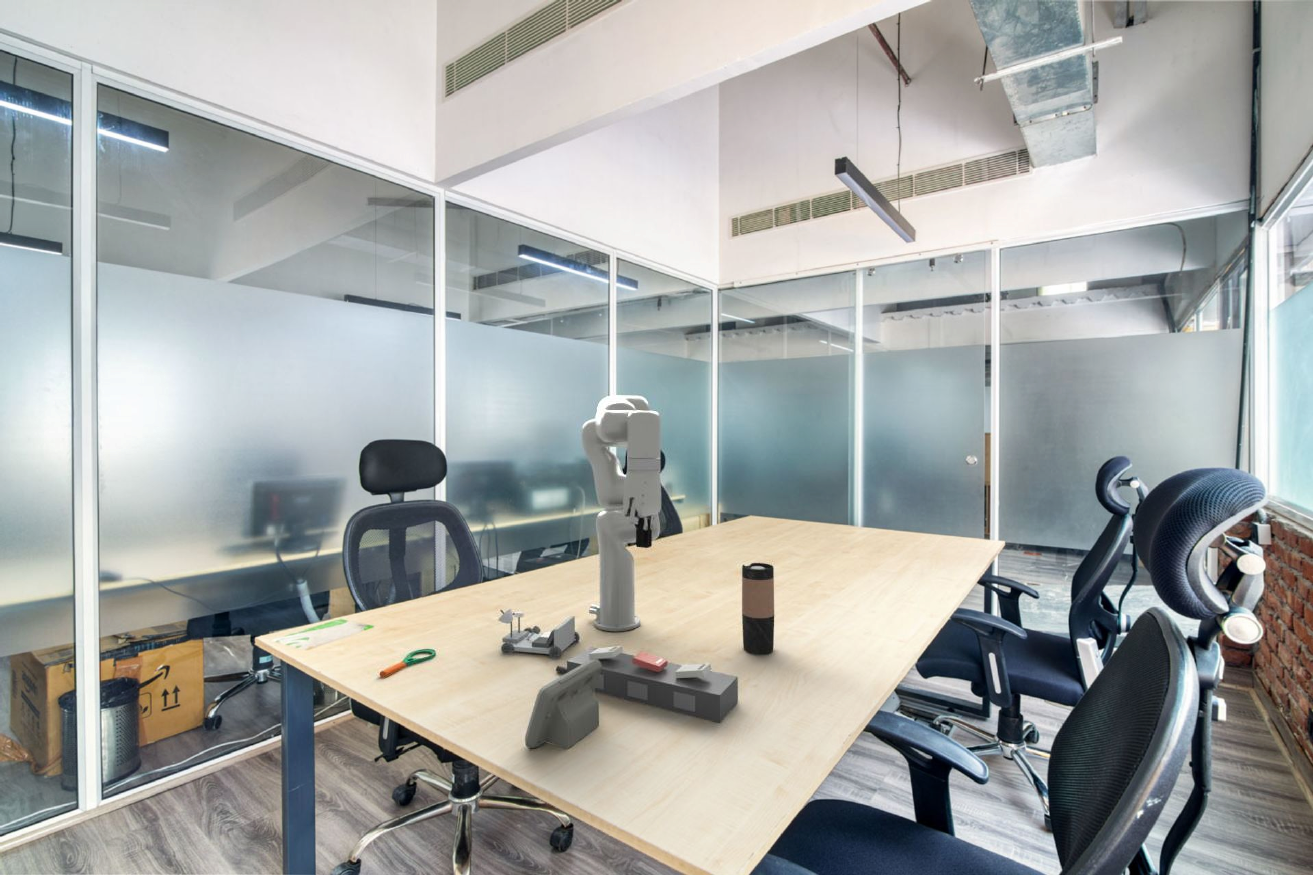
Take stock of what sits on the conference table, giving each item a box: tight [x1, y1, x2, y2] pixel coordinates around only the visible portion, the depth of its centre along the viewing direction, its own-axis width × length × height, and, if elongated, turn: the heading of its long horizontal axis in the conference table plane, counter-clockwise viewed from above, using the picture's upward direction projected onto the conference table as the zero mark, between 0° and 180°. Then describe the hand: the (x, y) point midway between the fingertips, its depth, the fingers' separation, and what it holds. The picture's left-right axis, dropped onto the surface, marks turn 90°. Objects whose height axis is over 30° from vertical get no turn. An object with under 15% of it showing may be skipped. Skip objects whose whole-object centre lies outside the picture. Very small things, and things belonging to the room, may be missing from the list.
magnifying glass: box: [379, 648, 437, 678], centre depth 132 cm, size 15×6×2 cm, turn 162°
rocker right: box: [675, 663, 712, 678], centre depth 111 cm, size 6×4×1 cm, turn 61°
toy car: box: [497, 608, 580, 660], centre depth 142 cm, size 18×10×12 cm
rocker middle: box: [632, 651, 668, 672], centre depth 116 cm, size 6×4×1 cm, turn 61°
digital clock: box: [524, 659, 601, 750], centre depth 101 cm, size 16×9×11 cm, turn 139°
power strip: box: [555, 646, 739, 724], centre depth 117 cm, size 40×9×5 cm, turn 61°
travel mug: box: [741, 562, 775, 656], centre depth 139 cm, size 8×8×20 cm
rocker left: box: [589, 645, 624, 660], centre depth 121 cm, size 6×4×1 cm, turn 61°
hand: (643, 546), depth 131 cm, fingers closed
